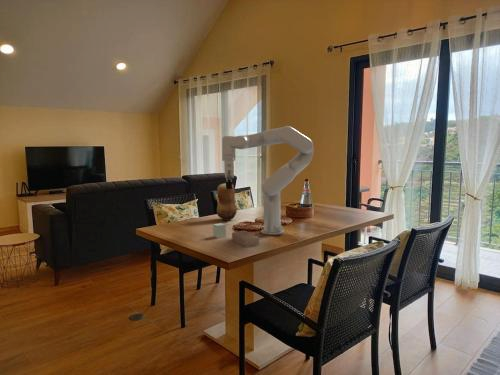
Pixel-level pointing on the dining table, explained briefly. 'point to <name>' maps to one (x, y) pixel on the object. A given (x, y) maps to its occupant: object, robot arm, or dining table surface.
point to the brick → (245, 238)
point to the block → (219, 230)
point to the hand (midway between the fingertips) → (228, 187)
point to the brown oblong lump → (226, 202)
